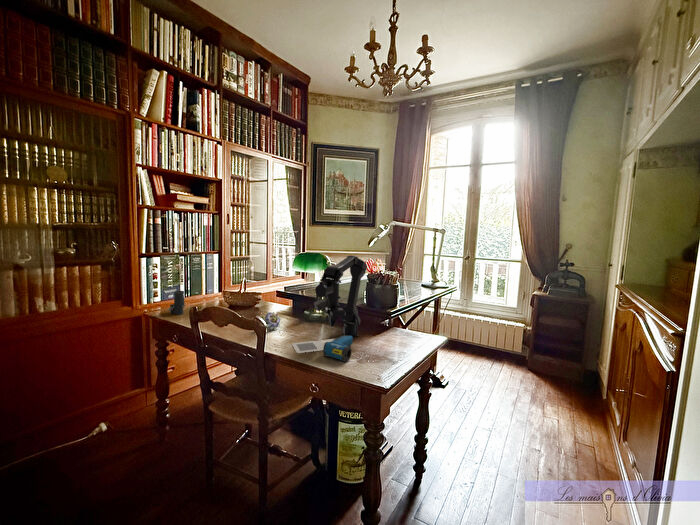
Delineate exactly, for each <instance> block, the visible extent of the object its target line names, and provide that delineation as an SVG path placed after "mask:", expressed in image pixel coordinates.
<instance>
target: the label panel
mask: <svg viewBox="0 0 700 525" xmlns="http://www.w3.org/2000/svg"><path fill="white" fill-rule="evenodd" d="M334 339H335V338H330V339H329V338H327V339H321V340H309V341H301V342H292V343H291V346H292V347H294V348H293V349H294V351H295V353H296V354H297V353H298V354H304V353H305V352H306V353H311V352H313V351H314V352H320V351H323V348H324V344H325V343H326V342H332V341H333V340H334Z"/></svg>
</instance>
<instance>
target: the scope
mask: <svg viewBox="0 0 700 525" xmlns="http://www.w3.org/2000/svg"><path fill="white" fill-rule="evenodd" d="M173 294H174V295H173V304H170V305H169V307H168V309H167V311H168V312H170V314H174V315H177V316H182V315H184V308H185V307H186V303H185V291H184V290H175V291H174V292H173Z"/></svg>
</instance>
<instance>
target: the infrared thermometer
mask: <svg viewBox="0 0 700 525" xmlns="http://www.w3.org/2000/svg"><path fill="white" fill-rule="evenodd" d="M333 339H334V340H333V341H332V342H326V343H325V344H324V348H323V350H322V351H323V352H322V353H323V356H326V357H331V358H333V359H338V360H340V361H343V362H346V363H347V362H349V360H350V359H351V357H352V347H351V346H352V345H353V340H354V337H352V336H348V335H344V334H342V335H340V336H338V337H336V338H333Z"/></svg>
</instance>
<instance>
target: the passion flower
mask: <svg viewBox="0 0 700 525" xmlns="http://www.w3.org/2000/svg"><path fill="white" fill-rule="evenodd" d="M261 318H262V319H263V320H264V321H265V322H266V324H267V327H266V328H269V330H270V331H272V330H273V331H274V332H276V331H277V327H278V328H280V327H281V321H282V318H280V315H279V314H277V313H275V311H272V312H270V311H269V310H266V314H265V315H261V317H260V319H261Z"/></svg>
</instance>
